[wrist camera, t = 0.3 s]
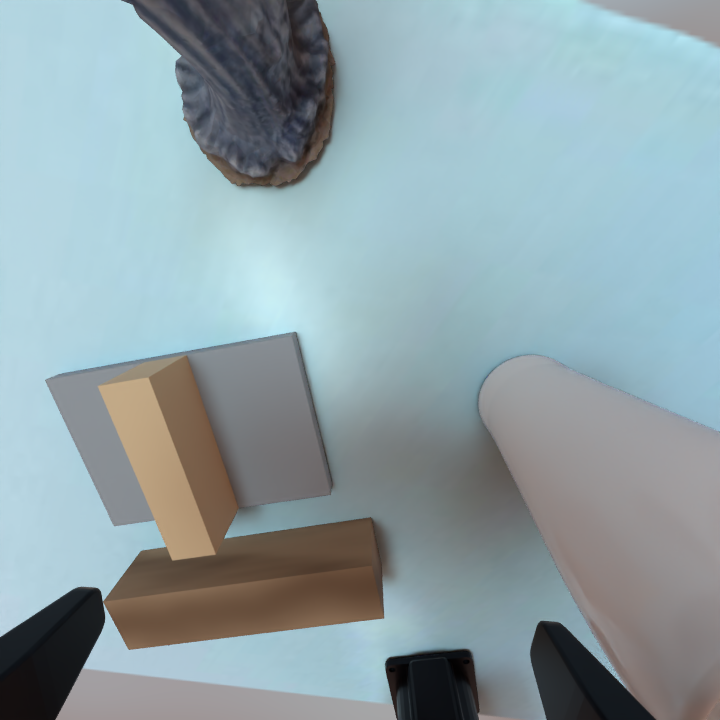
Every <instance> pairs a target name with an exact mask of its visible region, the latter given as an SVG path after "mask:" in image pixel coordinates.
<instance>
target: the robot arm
mask: <svg viewBox="0 0 720 720" xmlns="http://www.w3.org/2000/svg"><path fill="white" fill-rule="evenodd" d="M104 623H105V612H104V606H103V601H102V595H101V591H100V590H99V589H98V588H93V587H78V588H75V589H73V590H71V591H70V592H68V593H67V594H65V595H64V596H62V597H61V598H59V599H58V600H56V601H55V602H53V603H52V604H50V605H49V606H47V607H45V608H44V609H42V610H41V611H39V612H38V613H36V614H35V615H33V616H32V617H30V618H29V619H27V620H26V621H24V622H23V623H21V624H20V625H18V626H16V627H15V628H13V629H12V630H10V631H9V632H7V633H6V634H4V635H3V636H1V637H0V720H55V719H56V718H57V716H58V714H59V712H60V710H61V708H62V706H63V705H64V703H65V701H66V699H67V697H68V695H69V693H70V691H71V689H72V687H73V685H74V683H75V682H76V679H77V678H78V676H79V674H80V672H81V670H82V668H83V666H84V664H85V662H86V660H87V659H88V657H89V655H90V653H91V651H92V649H93V647H94V645H95V643H96V641H97V639H98V637H99V636H100V634H101V631H102V629H103V626H104ZM530 657H531V663H532V667H533V671H534V674H535V678H536V682H537V685H538V689H539V693H540V697H541V700H542V704H543V708H544V711H545V715H546V719H547V720H656V719H655V718H654V717H653V716H652V715H651V714H650V713H649V712H648V711H647V710H646V709H645V708H644V707H643V705H642V704H641V703H640V702H639V701H638V700H637V699H636V698H635V697H634V696H633V695H632V694H631V693H630V692H629V691H628V690H627V689H626V688H625V687H624V686H623V685H622V684H621V683H620V682H619V681H618V680H617V679H616V678H615V677H614V676H613V675H612V674H611V673H610V672H609V671H608V670H607V669H606V668H605V667H604V666H603V665H602V664H601V663H600V662H599V661H598V660H597V659H596V658H595V657H594V656H593V655H592V654H591V653H590V652H589V651H588V650H587V649H586V648H585V647H584V646H583V645H582V644H581V643H580V642H579V641H578V640H577V639H576V638H575V637H574V636H573V635H572V633H571V632H570V631H569V630H568V629H567V628H566V627H564V626H563V625H562V624H560V623H558V622H551V621H540V622H539V623H538V625H537V628H536V631H535V635H534V638H533V642H532V645H531V650H530ZM385 669H386V675H387V679H388V683H389V688H390V692H391V696H392V701H393V705H394V709H395V713H396V718H397V720H479V718H478V713H479V703H478V695H477V687H476V680H475V672H474V664H473V659H472V655H471V653H470V652H467V651H462V652H453V653H444V654H435V655H426V656H417V657H408V658H399V659H390V660H388V661H386V663H385Z"/></svg>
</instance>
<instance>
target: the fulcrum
mask: <svg viewBox="0 0 720 720" xmlns="http://www.w3.org/2000/svg"><path fill="white" fill-rule="evenodd" d="M45 381H46V383H47V385H48V387H49V390H50V392H51V394H52V396H53V398H54V400H55V402H56V404H57V407H58V409H59V411H60V413H61V415H62V417H63V419H64V421H65V423H66V426H67V428H68V430H69V432H70V434H71V436H72V438H73V440H74V443H75V445H76V447H77V449H78V451H79V453H80V455H81V457H82V459H83V462H84V464H85V466H86V468H87V470H88V472H89V474H90V476H91V479H92V481H93V483H94V485H95V487H96V489H97V491H98V493H99V495H100V498H101V500H102V502H103V504H104V506H105V508H106V510H107V512H108V515H109V517H110V519H111V521H112V523H113V525H114V526H119V525H126V524H133V523H140V522H147V521H154V520H155V521H156V524H157V526H158V528H159V531H160V533H161V535H162V538H163V540H164V542H165V545H166V547H167V549H168V552H169V554H170V556H171V559H172V561H173V560H180V559H187V558H195V557H202V556H209V555H216V553H217V551H218V549H219V547H220V545H221V543H222V541H223V539H224V537H225V535H226V533H227V531H228V529H229V527H230V525H231V523H232V521H233V519H234V517H235V515H236V513H237V510H238V508H243V507H250V506H257V505H264V504H270V503H277V502H284V501H291V500H298V499H305V498H312V497H319V496H326V495H331V489H332V481H331V477H330V473H329V469H328V465H327V461H326V457H325V452H324V448H323V444H322V440H321V436H320V432H319V428H318V424H317V419H316V415H315V411H314V407H313V403H312V399H311V395H310V391H309V386H308V382H307V378H306V374H305V370H304V366H303V362H302V357H301V353H300V349H299V345H298V341H297V337H296V333H295V332H292V333H286V334H281V335H275V336H270V337H264V338H258V339H253V340H247V341H242V342H236V343H230V344H225V345H219V346H214V347H208V348H202V349H197V350H191V351H186V352H180V353H174V354H169V355H163V356H158V357H152V358H146V359H141V360H135V361H130V362H124V363H118V364H113V365H107V366H102V367H96V368H90V369H85V370H79V371H74V372H68V373H62V374H58V375H56V376H54V377H51V378H49V379H46V380H45Z"/></svg>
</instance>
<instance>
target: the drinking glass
mask: <svg viewBox="0 0 720 720" xmlns="http://www.w3.org/2000/svg"><path fill="white" fill-rule="evenodd" d="M478 406H479V413H480V416H481V419H482V421H483V423H484V425H485V427H486V428H487V430H488V431H489V433H490V434H491V436H492V437H493V439H494V441H495V443H496V445H497V447H498V449H499V451H500V453H501V455H502V457H503V459H504V461H505V463H506V465H507V467H508V469H509V471H510V473H511V475H512V477H513V479H514V481H515V483H516V485H517V487H518V489H519V491H520V493H521V495H522V497H523V500H524V502H525V504H526V506H527V508H528V510H529V512H530V514H531V516H532V518H533V520H534V522H535V524H536V526H537V529H538V531H539V533H540V535H541V537H542V539H543V541H544V543H545V545H546V547H547V549H548V551H549V553H550V555H551V557H552V559H553V561H554V563H555V565H556V567H557V569H558V571H559V573H560V575H561V577H562V579H563V581H564V583H565V585H566V587H567V588H568V590H569V592H570V594H571V596H572V598H573V600H574V601H575V603H576V605H577V607H578V609H579V610H580V612H581V614H582V616H583V618H584V619H585V621H586V623H587V625H588V626H589V628H590V630H591V632H592V633H593V635H594V637H595V638H596V640H597V642H598V643H599V645H600V647H601V648H602V650H603V652H604V653H605V655H606V657H607V658H608V660H609V662H610V663H611V665H612V667H613V668H614V670H615V671H616V673H617V675H618V676H619V678H620V680H621V681H622V683H623V684H624V686H625V687H626V689H627V690H628V691H629V692H630V693H631V694H632V695H633V696H634V697H635V698H636V699H637V700H638V701H639V702H640V703H641V704H642V705H643V707H644V708H645V709H646V710H647V711H648V712H649V713H650V714H651V715H652V716H653V717H654V718H655V719H656V720H720V432H719V431H717V430H714V429H712V428H710V427H707V426H705V425H703V424H700V423H698V422H695V421H693V420H690V419H688V418H686V417H683V416H681V415H678V414H676V413H674V412H671V411H669V410H666V409H664V408H662V407H659V406H657V405H654V404H652V403H650V402H647V401H645V400H642V399H640V398H638V397H635V396H633V395H630V394H628V393H626V392H623V391H621V390H619V389H616V388H614V387H611V386H609V385H607V384H604V383H602V382H600V381H597V380H595V379H593V378H590V377H588V376H586V375H583V374H581V373H579V372H577V371H574V370H572V369H570V368H568V367H567V366H565V365H563V364H562V363H560V362H558V361H556V360H554V359H551V358H549V357H545V356H540V355H523V356H518V357H515V358H512V359H509V360H507V361H505V362H504V363H502V364H500V365H499V366H498V367H496V368H495V369H494V370H493V371H492V372H491V373H490V374H489V375H488V377H487V378H486V380H485V381H484V383H483V385H482V388H481V390H480V394H479V400H478Z"/></svg>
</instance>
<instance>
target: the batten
mask: <svg viewBox="0 0 720 720" xmlns="http://www.w3.org/2000/svg"><path fill="white" fill-rule="evenodd" d="M103 603H104V604H105V606H106V608H107V610H108V612H109V614H110V616H111V618H112V619H113V621H114V623H115V625H116V627H117V629H118V631H119V633H120V634H121V636H122V638H123V640H124V642H125V644H126V646H127V648H128V649H129V650H131V649H139V648H148V647H156V646H164V645H172V644H180V643H188V642H196V641H204V640H212V639H220V638H229V637H237V636H245V635H253V634H261V633H269V632H277V631H285V630H293V629H301V628H309V627H318V626H326V625H334V624H342V623H350V622H358V621H366V620H374V619H382V618H384V605H383V584H382V564H381V560H380V555H379V551H378V546H377V542H376V537H375V532H374V528H373V523H372V519H371V517H370V518H363V519H356V520H349V521H343V522H336V523H329V524H322V525H315V526H308V527H301V528H294V529H288V530H281V531H274V532H267V533H260V534H253V535H246V536H239V537H233V538H226V539H223V541H222V543H221V545H220V547H219V549H218V551H217V553H216V555H209V556H202V557H195V558H187V559H180V560H173V561H172V559H171V556H170V554H169V552H168V549H167V547H164V548H157V549H150V550H143V551H141V552H140V553H139V554H138V556H137V557H136V558H135V560H134V561H133V562H132V564H131V565H130V566H129V568H128V569H127V570H126V572H125V573H124V574H123V576H122V577H121V578H120V580H119V581H118V583H117V584H116V585H115V587H114V588H113V589H112V591H111V592H110V593H109V595H108V596H107V597H106V599H105V600H104V601H103Z"/></svg>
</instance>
